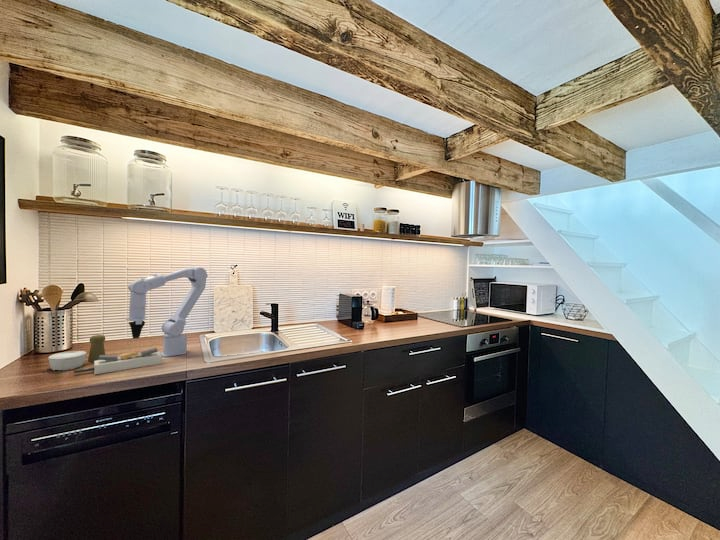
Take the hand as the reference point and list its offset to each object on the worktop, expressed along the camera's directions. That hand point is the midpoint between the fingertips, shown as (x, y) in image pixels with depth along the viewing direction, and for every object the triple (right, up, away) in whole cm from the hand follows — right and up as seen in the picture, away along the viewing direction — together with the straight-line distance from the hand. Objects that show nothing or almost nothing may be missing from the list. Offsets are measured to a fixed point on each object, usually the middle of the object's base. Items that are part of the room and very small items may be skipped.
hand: (135, 338), depth 130 cm
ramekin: (-21, -10, -9) cm, 25 cm away
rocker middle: (+2, -7, -6) cm, 9 cm away
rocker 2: (+7, -7, -1) cm, 10 cm away
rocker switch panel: (0, -11, -8) cm, 13 cm away
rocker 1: (-3, -6, -11) cm, 13 cm away
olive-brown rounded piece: (-17, -10, 0) cm, 20 cm away
